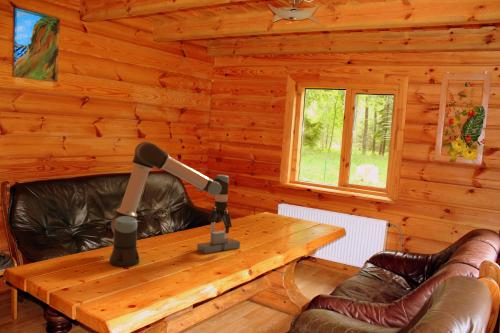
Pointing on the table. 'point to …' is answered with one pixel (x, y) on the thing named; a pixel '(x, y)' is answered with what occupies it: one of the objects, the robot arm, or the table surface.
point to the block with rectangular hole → (217, 246)
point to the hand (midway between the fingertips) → (219, 235)
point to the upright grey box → (218, 238)
